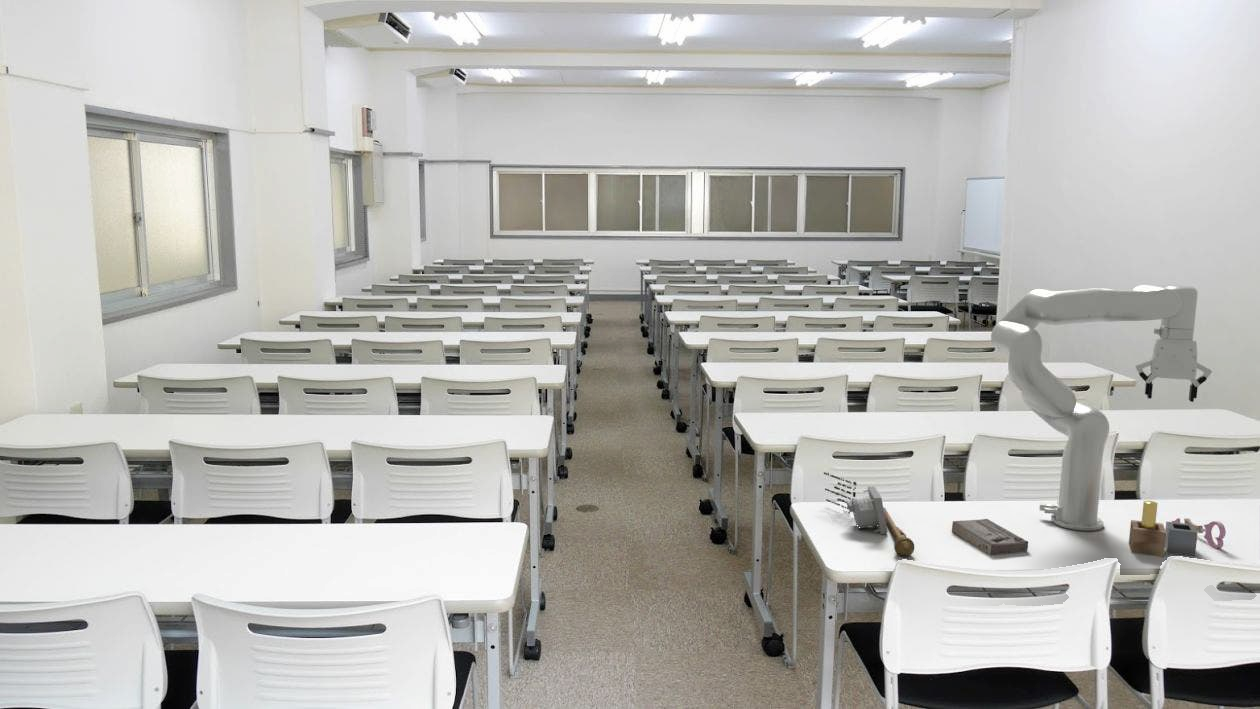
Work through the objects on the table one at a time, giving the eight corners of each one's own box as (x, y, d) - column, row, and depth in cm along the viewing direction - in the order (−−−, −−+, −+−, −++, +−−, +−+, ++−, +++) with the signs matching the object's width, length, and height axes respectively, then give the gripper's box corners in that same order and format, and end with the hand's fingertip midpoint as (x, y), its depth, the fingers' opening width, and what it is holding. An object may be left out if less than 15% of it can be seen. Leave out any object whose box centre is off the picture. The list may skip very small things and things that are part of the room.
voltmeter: (902, 531, 252) (904, 494, 250) (870, 539, 246) (872, 501, 244) (830, 502, 274) (831, 468, 272) (799, 509, 268) (800, 475, 266)
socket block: (1166, 552, 238) (1169, 529, 237) (1163, 544, 243) (1166, 521, 242) (1195, 556, 236) (1197, 532, 235) (1191, 547, 241) (1193, 524, 240)
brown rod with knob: (872, 517, 267) (890, 519, 267) (895, 559, 233) (915, 561, 232) (875, 500, 267) (892, 502, 266) (898, 540, 232) (918, 542, 232)
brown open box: (1131, 552, 238) (1133, 528, 237) (1128, 542, 244) (1131, 519, 243) (1163, 556, 235) (1166, 532, 234) (1160, 546, 242) (1162, 523, 241)
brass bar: (1139, 550, 239) (1144, 503, 237) (1138, 546, 242) (1143, 500, 240) (1153, 552, 238) (1158, 505, 236) (1152, 548, 241) (1156, 501, 239)
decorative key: (1173, 534, 259) (1225, 550, 239) (1169, 534, 258) (1221, 550, 239) (1173, 509, 259) (1225, 523, 239) (1169, 509, 258) (1221, 523, 239)
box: (986, 529, 255) (987, 517, 254) (1028, 553, 238) (1029, 541, 238) (949, 532, 252) (950, 520, 251) (990, 556, 236) (991, 544, 235)
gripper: (1140, 334, 251) (1134, 399, 254) (1217, 338, 245) (1210, 405, 248) (1137, 330, 258) (1131, 393, 261) (1212, 334, 251) (1205, 399, 254)
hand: (1170, 399), depth 254 cm, fingers open, 9 cm apart
